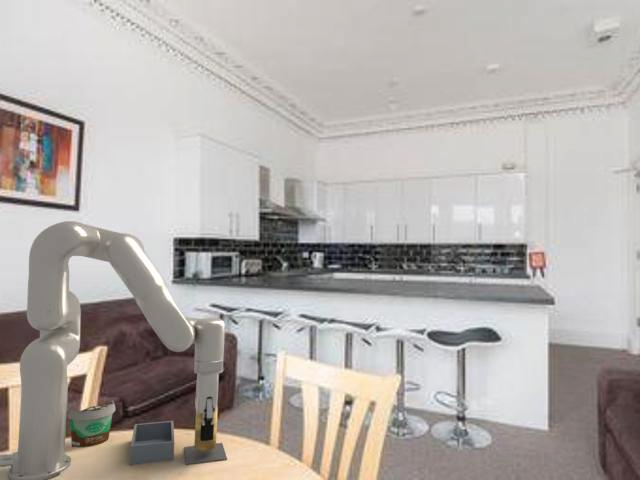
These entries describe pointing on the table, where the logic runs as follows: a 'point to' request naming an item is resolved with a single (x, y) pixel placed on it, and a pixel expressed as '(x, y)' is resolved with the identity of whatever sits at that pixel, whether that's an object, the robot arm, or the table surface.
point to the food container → (91, 425)
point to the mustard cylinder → (198, 443)
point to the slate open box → (152, 443)
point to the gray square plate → (204, 455)
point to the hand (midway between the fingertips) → (205, 434)
